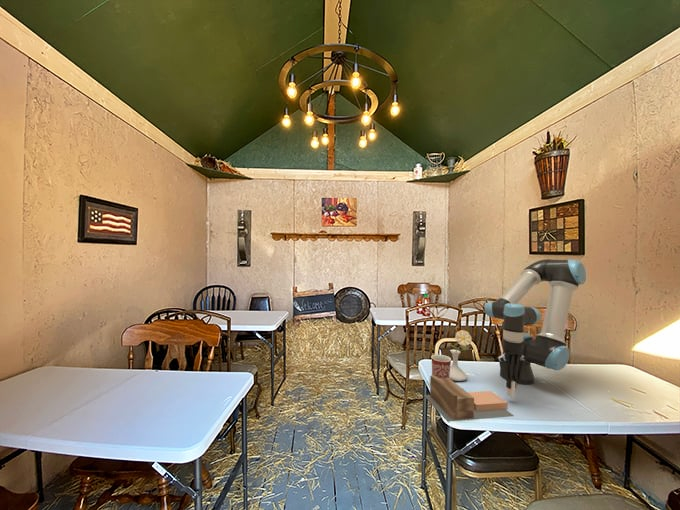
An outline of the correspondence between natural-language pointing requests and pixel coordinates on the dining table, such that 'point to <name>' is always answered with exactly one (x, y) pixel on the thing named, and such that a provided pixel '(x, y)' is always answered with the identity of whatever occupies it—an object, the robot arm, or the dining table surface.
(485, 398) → the tile
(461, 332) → the flower in vase
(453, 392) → the grooved wooden block
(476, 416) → the mat
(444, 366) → the mug
